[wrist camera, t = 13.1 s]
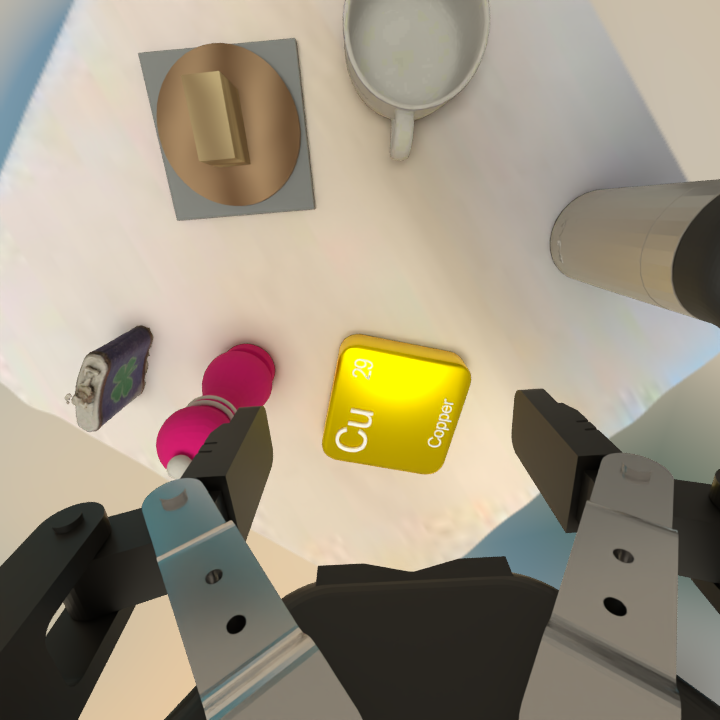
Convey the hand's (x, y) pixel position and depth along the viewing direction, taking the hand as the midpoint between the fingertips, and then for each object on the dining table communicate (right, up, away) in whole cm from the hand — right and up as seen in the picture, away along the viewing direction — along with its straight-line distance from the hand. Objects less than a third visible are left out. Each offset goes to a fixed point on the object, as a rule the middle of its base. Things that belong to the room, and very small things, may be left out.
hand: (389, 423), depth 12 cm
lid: (-13, +24, +24) cm, 36 cm away
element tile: (+3, -3, +36) cm, 36 cm away
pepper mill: (-14, +1, +34) cm, 37 cm away
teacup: (+3, +28, +24) cm, 37 cm away
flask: (-27, +2, +34) cm, 43 cm away
